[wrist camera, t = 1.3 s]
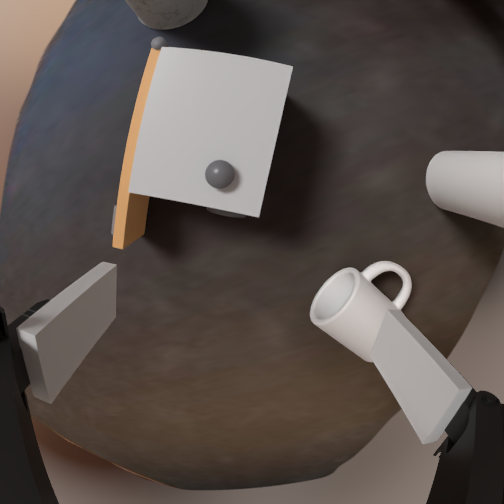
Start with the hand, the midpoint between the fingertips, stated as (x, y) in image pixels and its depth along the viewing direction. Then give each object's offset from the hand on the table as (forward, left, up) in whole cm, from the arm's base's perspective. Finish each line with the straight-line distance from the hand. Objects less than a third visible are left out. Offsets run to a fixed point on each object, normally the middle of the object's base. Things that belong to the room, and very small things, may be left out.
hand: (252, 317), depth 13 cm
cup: (-12, +25, -23) cm, 36 cm away
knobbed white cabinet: (-9, -6, -23) cm, 25 cm away
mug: (+6, +16, -23) cm, 29 cm away
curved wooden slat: (-7, -13, -23) cm, 27 cm away
